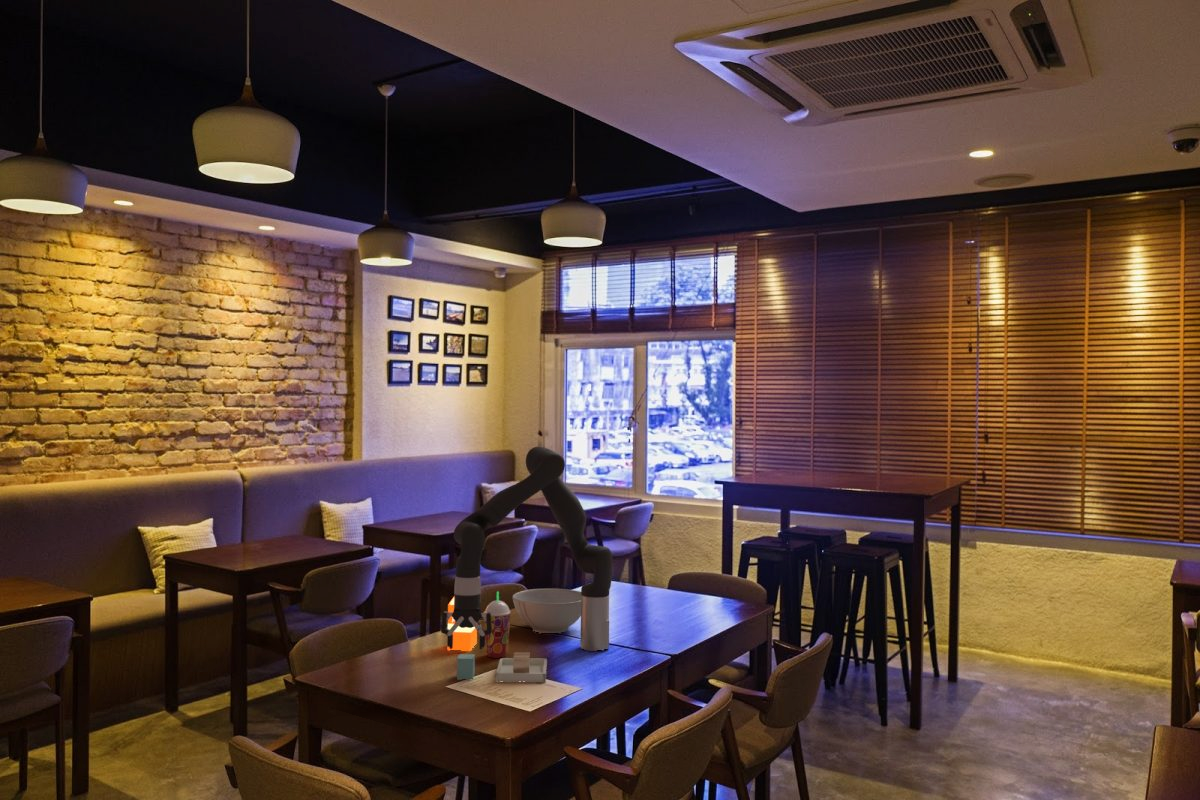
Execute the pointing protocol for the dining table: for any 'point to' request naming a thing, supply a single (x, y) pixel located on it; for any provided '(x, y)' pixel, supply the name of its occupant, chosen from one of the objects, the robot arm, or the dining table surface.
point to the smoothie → (498, 629)
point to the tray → (534, 675)
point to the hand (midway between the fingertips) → (466, 648)
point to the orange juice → (461, 634)
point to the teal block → (465, 666)
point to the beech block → (521, 662)
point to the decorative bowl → (548, 608)
